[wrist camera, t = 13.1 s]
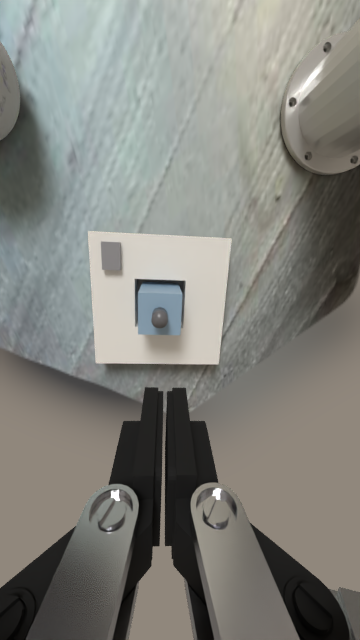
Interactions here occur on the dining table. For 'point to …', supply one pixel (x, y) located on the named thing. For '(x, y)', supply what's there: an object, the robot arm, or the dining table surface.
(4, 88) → the teacup
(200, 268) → the socket
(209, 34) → the dining table surface
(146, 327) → the plug
